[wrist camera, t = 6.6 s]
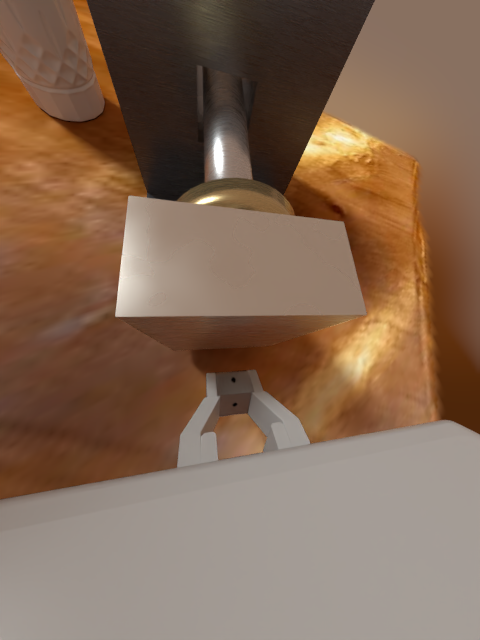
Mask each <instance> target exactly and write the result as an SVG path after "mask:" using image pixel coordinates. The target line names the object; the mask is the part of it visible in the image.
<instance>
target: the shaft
mask: <svg viewBox="0 0 480 640" xmlns="http://www.w3.org/2000/svg"><path fill="white" fill-rule="evenodd" d="M202 75H203V123H204V170H205V183H202V184H200V185H198V186H196V187H193V188H191V189H190V190H189V191H187V192H186V193H184V194H183V195H182V196H181V197H180V198H179V199H178V200H177V201H169V200H161V199H153V198H144V197H136V196H129V197H128V206H127V215H126V224H125V233H124V242H123V251H122V260H121V269H120V278H119V287H118V296H117V305H116V314H115V317H116V318H118V319H120V320H122V321H123V322H125V323H127V324H129V325H130V326H132V327H134V328H135V329H137V330H139V331H141V332H142V333H144V334H146V335H148V336H149V337H151V338H153V339H154V340H156V341H158V342H160V343H161V344H163V345H165V346H166V347H168V348H170V349H172V350H173V351H179V350H200V349H222V348H243V347H265V346H271V345H274V344H277V343H280V342H284V341H287V340H290V339H293V338H296V337H299V336H302V335H305V334H309V333H312V332H315V331H318V330H321V329H324V328H327V327H330V326H334V325H337V324H340V323H343V322H346V321H349V320H352V319H356V318H359V317H362V316H365V315H367V312H366V308H365V304H364V300H363V296H362V293H361V289H360V285H359V281H358V277H357V273H356V269H355V265H354V261H353V257H352V253H351V249H350V245H349V241H348V237H347V233H346V229H345V225H344V222H341V221H333V220H325V219H317V218H309V217H300V216H295V214H294V211H293V208H292V206H291V205H290V203H289V201H288V200H287V199H286V198H285V197H284V196H283V195H282V194H281V193H280V192H278V191H277V190H276V189H274V188H272V187H270V186H269V185H266V184H264V183H261V182H259V181H255V180H253V178H252V168H251V159H250V150H249V140H248V131H247V122H246V112H245V103H244V94H243V84H242V77H239V76H235V75H232V74H228V73H224V72H221V71H217V70H214V69H210V68H207V67H203V66H202Z"/></svg>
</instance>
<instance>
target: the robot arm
mask: <svg viewBox="0 0 480 640" xmlns="http://www.w3.org/2000/svg"><path fill="white" fill-rule="evenodd" d="M244 413H248V415H249V416H250V417H251V418H252V420H253V421H254V422H255V423H256V424H257V426H258V427H259V428H260V429H261V430H262V432H263V433H264V434H265V435H266V436H267V440H266V443H265V446H264V449H263V452H262V453H256V454H251V455H245V456H239V457H234V458H228V459H223V460H218V453H217V440H216V434H215V433H214V432H213V430H214V428H215V426H216V424H217V421H218V419H219V417H221V416H228V415H234V414H244ZM0 640H480V435H479V434H477V433H476V432H474V431H472V430H469V429H467V428H466V427H464V426H462V425H459V424H457V423H455V422H453V421H449V420H440V421H434V422H429V423H423V424H418V425H412V426H407V427H401V428H395V429H390V430H384V431H379V432H373V433H368V434H362V435H357V436H351V437H346V438H340V439H334V440H329V441H323V442H318V443H312V444H311V443H310V441H309V439H308V437H307V435H306V433H305V431H304V428H303V426H302V424H301V422H300V420H299V418H297V417H296V416H295V415H294V414H293V413H291V412H290V411H289V410H288V409H287V408H285V407H284V406H283V405H282V404H281V403H279V402H278V401H277V400H276V399H275V398H274V397H272V396H271V395H270V394H269V393H268V392H266V391H263V388H262V385H261V383H260V380H259V377H258V374H257V372H256V370H243V371H231V372H215V373H206V397H205V398H204V399H203V401H202V402H201V404H200V405H199V407H198V409H197V410H196V412H195V413H194V415H193V416H192V418H191V419H190V421H189V422H188V424H187V426H186V427H185V429H184V430H183V432H182V433H181V435H180V443H179V453H178V463H177V468H173V469H167V470H161V471H156V472H150V473H145V474H139V475H134V476H128V477H123V478H117V479H111V480H106V481H100V482H95V483H89V484H84V485H78V486H72V487H67V488H61V489H56V490H50V491H45V492H39V493H33V494H28V495H22V496H17V497H11V498H6V499H0Z"/></svg>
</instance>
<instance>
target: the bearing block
mask: <svg viewBox="0 0 480 640" xmlns="http://www.w3.org/2000/svg"><path fill="white" fill-rule="evenodd" d="M374 1H375V0H87V3H88V6H89V9H90V13H91V16H92V19H93V22H94V25H95V28H96V32H97V35H98V38H99V41H100V44H101V47H102V51H103V54H104V57H105V60H106V63H107V66H108V70H109V73H110V76H111V79H112V82H113V85H114V89H115V92H116V95H117V98H118V101H119V104H120V108H121V111H122V114H123V117H124V120H125V123H126V127H127V130H128V133H129V136H130V139H131V142H132V146H133V149H134V152H135V155H136V158H137V161H138V165H139V168H140V171H141V174H142V177H143V180H144V184H145V187H146V190H147V198H153V199H161V200H169V201H177V200H178V199H179V198H180V197H181V196H182V195H183V194H184V193H186V192H187V191H189V190H190V189H191V188H193V187H196V186H198V185H200V184H202V183H205V170H204V123H203V75H202V66H203V67H207V68H210V69H214V70H217V71H221V72H224V73H228V74H232V75H235V76H239V77H242V84H243V94H244V103H245V112H246V122H247V131H248V140H249V150H250V159H251V168H252V178H253V180H255V181H259V182H261V183H264V184H266V185H269V186H270V187H272V188H274V189H276V190H277V191H278V192H280V193H281V194H282V195H284V193H285V191H286V189H287V186H288V184H289V182H290V180H291V178H292V176H293V174H294V171H295V169H296V167H297V165H298V163H299V161H300V159H301V157H302V154H303V152H304V150H305V148H306V146H307V144H308V142H309V140H310V137H311V135H312V133H313V131H314V129H315V127H316V125H317V122H318V120H319V118H320V116H321V114H322V112H323V110H324V108H325V105H326V103H327V101H328V99H329V97H330V95H331V93H332V91H333V88H334V86H335V84H336V82H337V80H338V78H339V76H340V73H341V71H342V69H343V67H344V65H345V63H346V61H347V59H348V56H349V54H350V52H351V50H352V48H353V46H354V44H355V41H356V39H357V37H358V35H359V33H360V31H361V29H362V26H363V24H364V22H365V20H366V18H367V16H368V14H369V12H370V10H371V7H372V5H373V3H374Z"/></svg>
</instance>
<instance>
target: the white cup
mask: <svg viewBox="0 0 480 640" xmlns="http://www.w3.org/2000/svg"><path fill="white" fill-rule="evenodd" d="M0 52H1V54H2V55H3V57H4V58H5V59H6V60H7V62H8V63H9V64H10V65H11V67H12V68H13V69H14V71H15V72H16V74H17V76H18V77H19V79H20V80H21V82H22V83H23V85H24V86H25V88H26V89H27V91H28V92H29V94H30V95H31V97H32V98H33V100H34V101H35V103H36V104H37V105H38V107H40V108H41V109H42V110H44V111H45V112H46V113H48V114H49V115H51V116H53V117H56V118H59V119H62V120H65V121H78V122H82V121H87V120H91V119H94V118H96V117H97V116H99V115H100V114H101V113H102V112H103V109H104V105H105V101H104V98H103V95H102V92H101V89H100V86H99V83H98V80H97V78H96V75H95V72H94V70H93V65H92V59H91V56H90V53H89V50H88V46H87V43H86V41H85V38H84V34H83V31H82V28H81V25H80V21H79V18H78V15H77V12H76V9H75V6H74V3H73V0H0Z"/></svg>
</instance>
